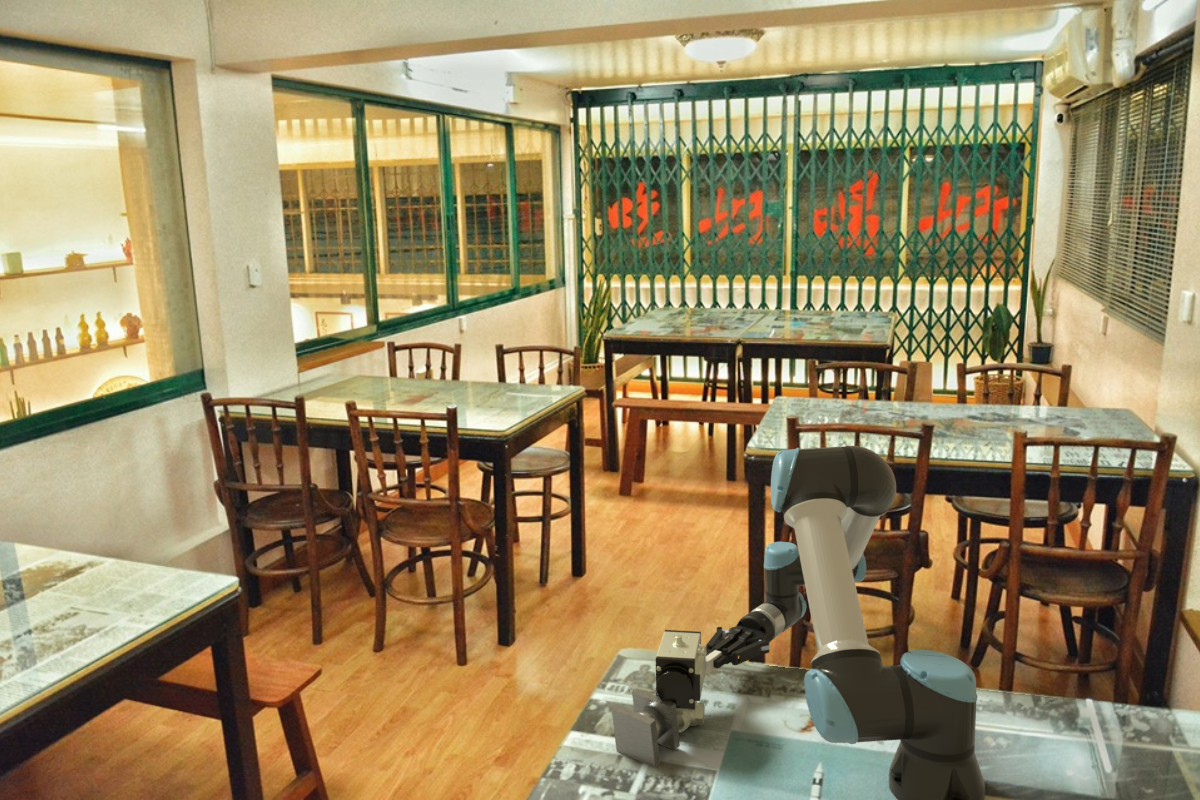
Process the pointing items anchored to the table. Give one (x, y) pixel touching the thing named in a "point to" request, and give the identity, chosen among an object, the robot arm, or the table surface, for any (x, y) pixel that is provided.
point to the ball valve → (682, 675)
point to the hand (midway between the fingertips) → (701, 669)
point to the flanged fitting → (645, 727)
